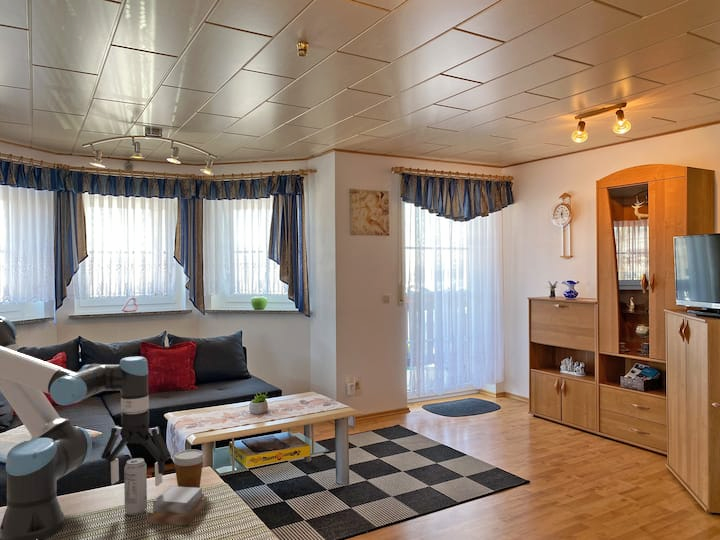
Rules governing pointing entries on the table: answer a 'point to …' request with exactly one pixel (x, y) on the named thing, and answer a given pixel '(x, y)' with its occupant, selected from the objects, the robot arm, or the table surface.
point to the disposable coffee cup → (188, 468)
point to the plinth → (176, 516)
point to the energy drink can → (135, 486)
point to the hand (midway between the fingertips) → (136, 483)
